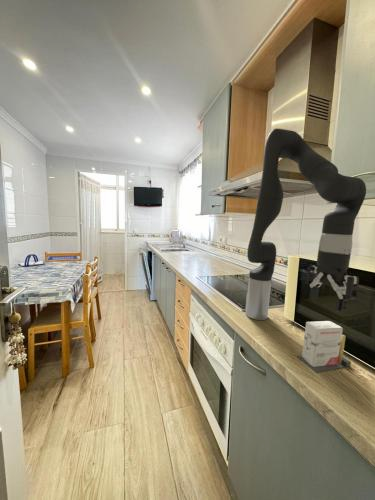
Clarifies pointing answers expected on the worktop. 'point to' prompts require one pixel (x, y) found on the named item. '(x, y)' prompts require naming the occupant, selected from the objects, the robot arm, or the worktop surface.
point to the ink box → (321, 343)
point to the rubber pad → (321, 368)
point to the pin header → (340, 357)
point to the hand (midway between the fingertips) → (326, 305)
